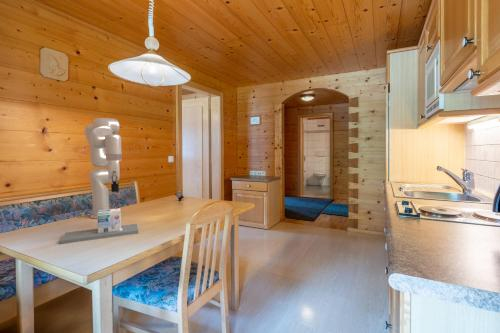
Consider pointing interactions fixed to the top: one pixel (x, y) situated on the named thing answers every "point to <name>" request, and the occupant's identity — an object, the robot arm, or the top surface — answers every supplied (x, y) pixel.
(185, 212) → the top surface
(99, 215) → the light bulb box
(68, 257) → the top surface
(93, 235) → the slate board
